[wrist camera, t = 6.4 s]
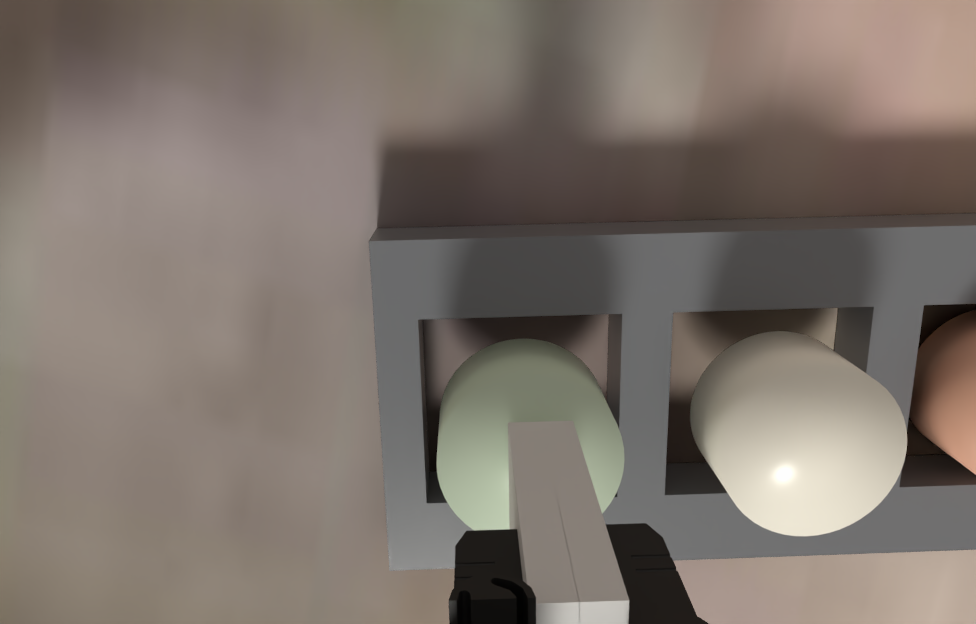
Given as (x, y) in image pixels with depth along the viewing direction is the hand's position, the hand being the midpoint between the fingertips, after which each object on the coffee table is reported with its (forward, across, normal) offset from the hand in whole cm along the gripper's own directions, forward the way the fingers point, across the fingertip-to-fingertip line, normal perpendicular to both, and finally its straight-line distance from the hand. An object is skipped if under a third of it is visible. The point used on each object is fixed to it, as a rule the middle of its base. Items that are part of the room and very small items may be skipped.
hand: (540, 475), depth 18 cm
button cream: (+4, +7, 0) cm, 8 cm away
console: (+6, +7, 0) cm, 9 cm away
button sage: (+4, 0, 0) cm, 4 cm away
